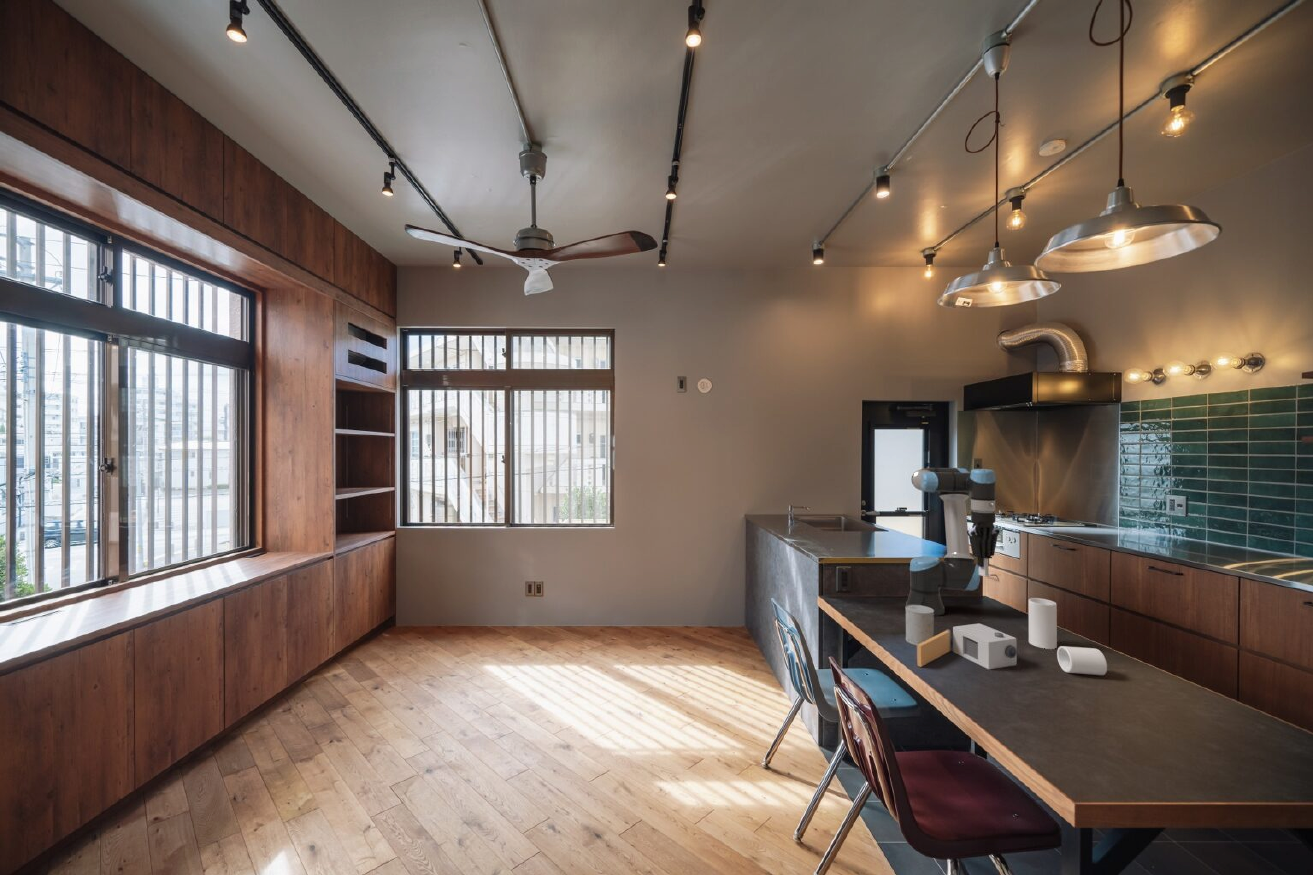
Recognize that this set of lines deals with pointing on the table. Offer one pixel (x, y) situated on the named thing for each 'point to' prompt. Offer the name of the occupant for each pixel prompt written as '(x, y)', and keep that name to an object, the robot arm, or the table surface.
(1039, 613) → the cup
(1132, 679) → the table surface
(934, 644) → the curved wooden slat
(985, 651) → the knobbed white cabinet
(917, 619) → the grey mottled cylinder
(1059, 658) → the mug
